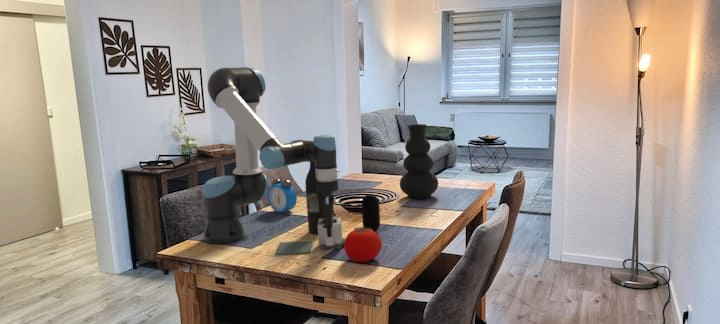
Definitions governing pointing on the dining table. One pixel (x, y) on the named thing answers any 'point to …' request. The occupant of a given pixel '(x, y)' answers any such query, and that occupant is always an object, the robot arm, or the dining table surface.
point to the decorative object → (371, 212)
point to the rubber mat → (294, 248)
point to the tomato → (362, 245)
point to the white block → (336, 231)
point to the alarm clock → (282, 195)
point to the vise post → (338, 246)
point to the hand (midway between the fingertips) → (330, 239)
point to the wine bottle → (313, 200)
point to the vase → (418, 165)
